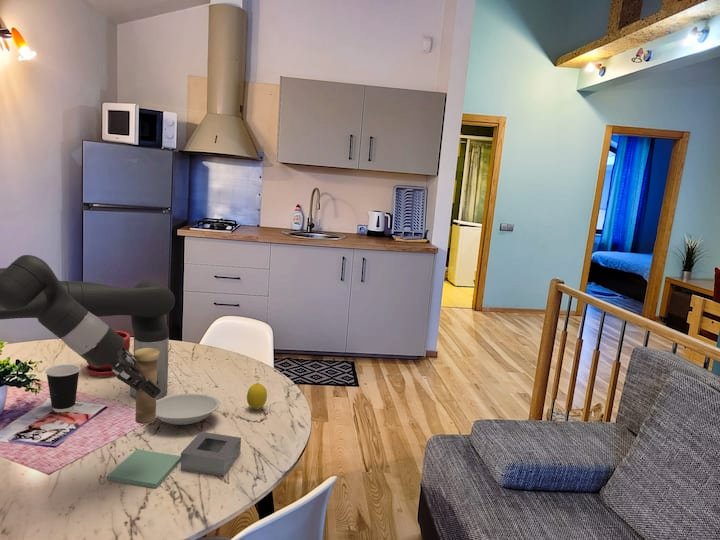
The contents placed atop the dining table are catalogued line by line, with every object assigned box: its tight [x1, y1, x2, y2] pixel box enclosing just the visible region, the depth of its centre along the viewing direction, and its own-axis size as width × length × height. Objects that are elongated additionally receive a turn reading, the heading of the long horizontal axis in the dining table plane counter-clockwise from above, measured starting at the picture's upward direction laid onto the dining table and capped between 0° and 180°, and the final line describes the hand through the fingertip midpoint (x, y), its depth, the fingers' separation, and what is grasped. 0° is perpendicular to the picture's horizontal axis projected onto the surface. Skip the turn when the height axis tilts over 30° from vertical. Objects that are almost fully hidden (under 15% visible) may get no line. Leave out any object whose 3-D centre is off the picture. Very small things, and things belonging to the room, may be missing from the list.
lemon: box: [246, 382, 268, 410], centre depth 142 cm, size 6×6×8 cm
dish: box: [156, 393, 221, 426], centre depth 132 cm, size 18×14×5 cm
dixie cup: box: [45, 363, 81, 413], centre depth 133 cm, size 8×8×11 cm
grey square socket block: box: [180, 431, 242, 477], centre depth 115 cm, size 10×10×4 cm
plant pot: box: [85, 330, 131, 377], centre depth 159 cm, size 13×13×12 cm
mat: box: [106, 448, 181, 489], centre depth 110 cm, size 11×11×1 cm
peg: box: [134, 348, 160, 425], centre depth 107 cm, size 5×5×15 cm
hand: (156, 389), depth 108 cm, fingers closed on peg, 4 cm apart
